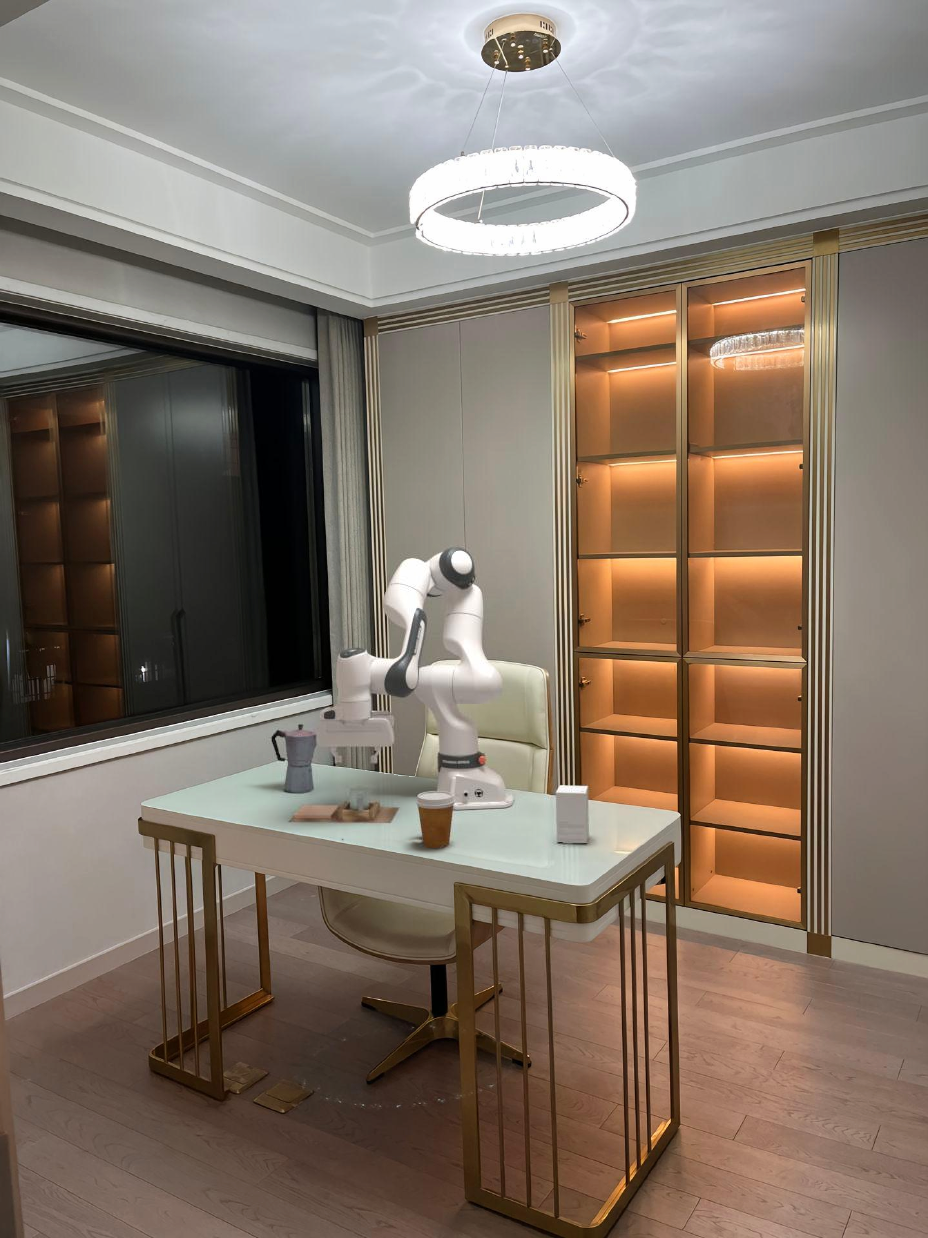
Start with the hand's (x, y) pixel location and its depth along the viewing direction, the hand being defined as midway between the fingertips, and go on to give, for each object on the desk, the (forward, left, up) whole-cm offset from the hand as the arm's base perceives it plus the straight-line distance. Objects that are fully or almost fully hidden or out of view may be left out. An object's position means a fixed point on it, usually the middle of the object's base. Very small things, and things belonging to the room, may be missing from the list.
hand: (356, 763), depth 246 cm
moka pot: (+25, -34, -16) cm, 45 cm away
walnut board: (+4, -4, -16) cm, 17 cm away
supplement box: (-56, +13, -16) cm, 60 cm away
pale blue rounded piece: (0, -1, -15) cm, 15 cm away
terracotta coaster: (+12, -5, -15) cm, 20 cm away
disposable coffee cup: (-23, +18, -16) cm, 33 cm away
